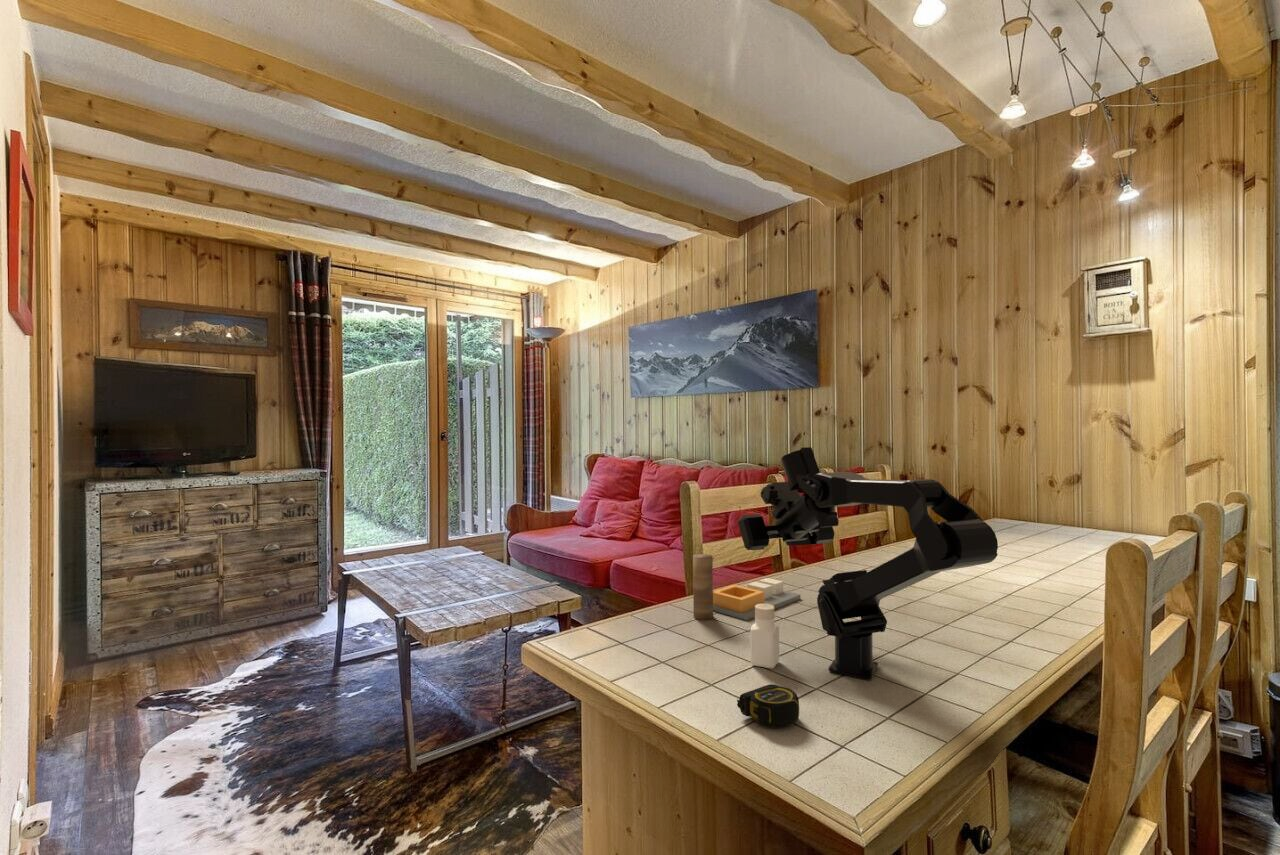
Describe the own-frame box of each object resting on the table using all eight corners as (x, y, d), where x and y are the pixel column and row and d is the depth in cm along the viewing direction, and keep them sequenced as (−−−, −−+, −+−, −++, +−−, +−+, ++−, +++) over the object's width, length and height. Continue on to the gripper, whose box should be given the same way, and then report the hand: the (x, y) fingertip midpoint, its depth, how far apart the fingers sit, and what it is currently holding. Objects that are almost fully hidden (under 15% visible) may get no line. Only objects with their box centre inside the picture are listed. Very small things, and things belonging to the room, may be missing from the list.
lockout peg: (708, 621, 119) (707, 559, 119) (690, 618, 121) (689, 556, 121) (716, 615, 122) (715, 555, 122) (698, 612, 124) (698, 553, 124)
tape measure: (773, 703, 84) (773, 677, 84) (810, 724, 79) (810, 696, 79) (736, 717, 81) (736, 689, 81) (772, 739, 75) (772, 710, 75)
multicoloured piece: (746, 620, 119) (746, 603, 119) (701, 607, 128) (700, 591, 128) (800, 598, 133) (800, 583, 133) (755, 588, 141) (755, 573, 141)
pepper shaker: (756, 657, 101) (756, 601, 100) (780, 661, 99) (779, 604, 99) (749, 666, 97) (749, 608, 97) (774, 670, 95) (773, 611, 95)
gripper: (833, 471, 114) (794, 505, 126) (747, 475, 108) (715, 511, 120) (854, 525, 108) (811, 555, 121) (765, 533, 102) (729, 564, 115)
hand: (767, 545), depth 119 cm, fingers open, 9 cm apart
